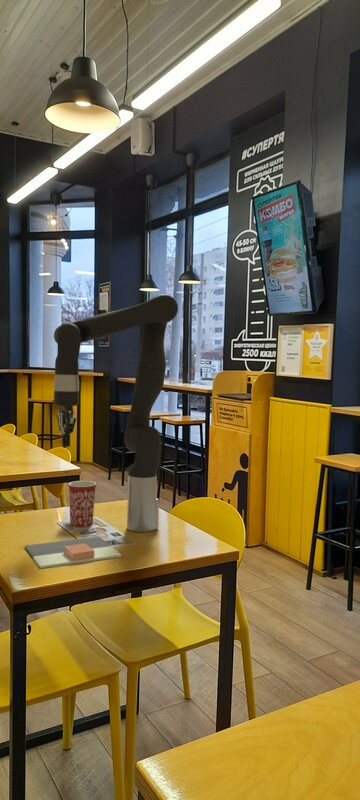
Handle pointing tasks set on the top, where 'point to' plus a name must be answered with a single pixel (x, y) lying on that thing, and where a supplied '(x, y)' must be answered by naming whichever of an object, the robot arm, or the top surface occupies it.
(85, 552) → the tile
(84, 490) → the mug
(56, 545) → the mat
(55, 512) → the top surface
